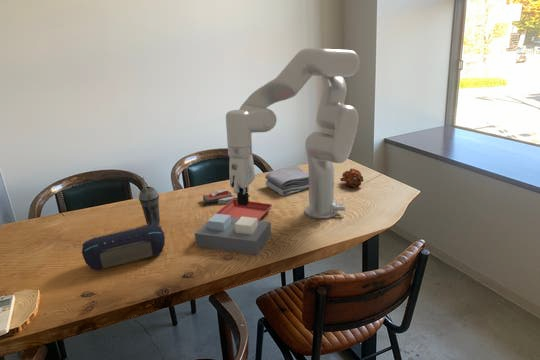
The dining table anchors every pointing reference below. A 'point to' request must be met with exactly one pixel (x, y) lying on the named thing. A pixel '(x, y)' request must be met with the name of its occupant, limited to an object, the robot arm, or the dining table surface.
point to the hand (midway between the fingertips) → (243, 204)
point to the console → (234, 238)
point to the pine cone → (352, 177)
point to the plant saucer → (245, 209)
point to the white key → (246, 225)
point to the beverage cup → (150, 205)
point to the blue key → (219, 222)
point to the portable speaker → (123, 247)
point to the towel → (287, 180)
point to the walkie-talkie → (218, 198)
